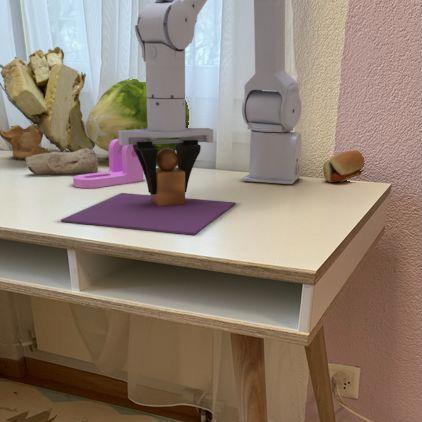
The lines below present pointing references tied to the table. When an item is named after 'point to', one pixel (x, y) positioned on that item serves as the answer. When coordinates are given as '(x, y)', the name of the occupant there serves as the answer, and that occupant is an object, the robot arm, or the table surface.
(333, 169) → the food
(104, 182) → the bracket
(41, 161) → the bone fragment
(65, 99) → the debris
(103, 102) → the lettuce
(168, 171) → the wooden knob on block
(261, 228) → the table surface
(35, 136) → the bone
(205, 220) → the felt cloth
